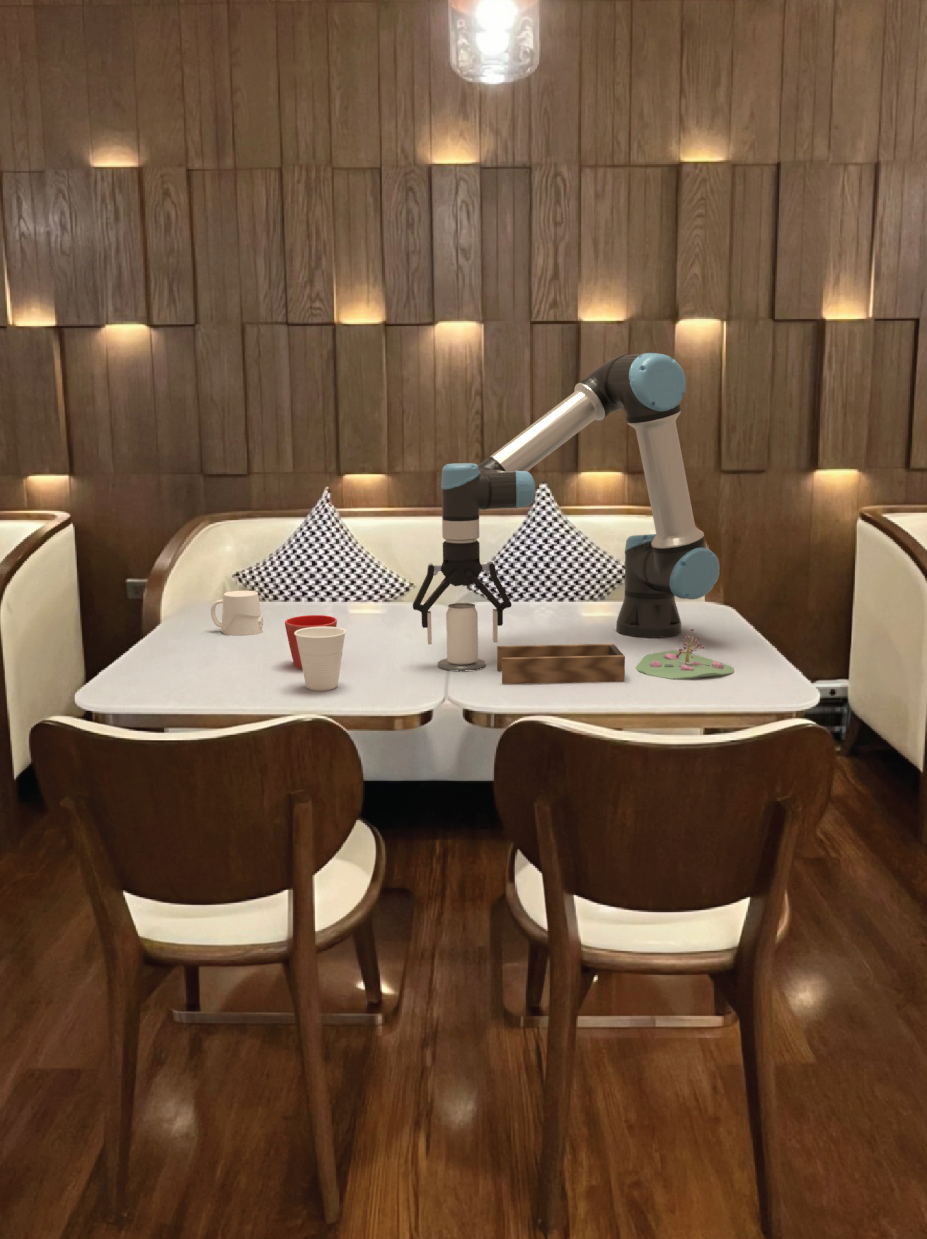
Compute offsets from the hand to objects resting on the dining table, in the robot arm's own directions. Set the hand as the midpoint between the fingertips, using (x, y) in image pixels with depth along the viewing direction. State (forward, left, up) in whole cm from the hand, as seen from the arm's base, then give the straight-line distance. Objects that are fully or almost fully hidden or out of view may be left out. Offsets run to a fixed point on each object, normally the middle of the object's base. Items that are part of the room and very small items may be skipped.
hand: (462, 642), depth 238 cm
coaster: (0, 0, -5) cm, 5 cm away
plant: (-45, +3, -6) cm, 46 cm away
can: (0, 0, -4) cm, 5 cm away
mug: (+51, -38, -5) cm, 64 cm away
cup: (+28, +15, -5) cm, 32 cm away
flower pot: (+31, -3, -5) cm, 32 cm away
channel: (-19, +10, -5) cm, 22 cm away
